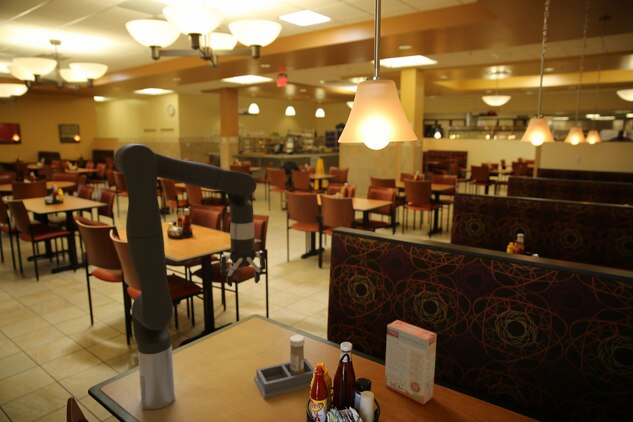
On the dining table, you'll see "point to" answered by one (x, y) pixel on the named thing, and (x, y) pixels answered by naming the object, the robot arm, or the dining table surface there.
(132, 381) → the dining table surface
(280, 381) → the caddy
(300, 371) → the sprinkles bottle
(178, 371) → the dining table surface
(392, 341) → the cracker box
